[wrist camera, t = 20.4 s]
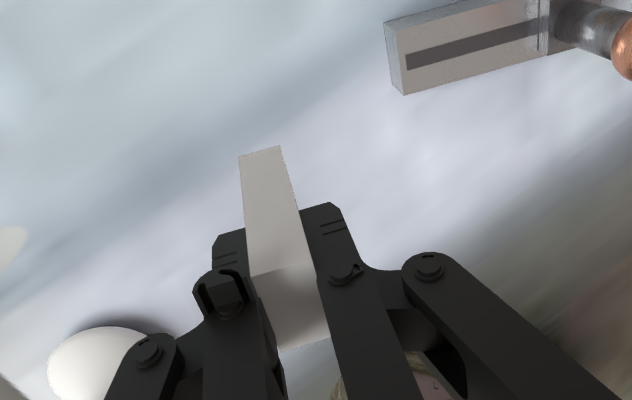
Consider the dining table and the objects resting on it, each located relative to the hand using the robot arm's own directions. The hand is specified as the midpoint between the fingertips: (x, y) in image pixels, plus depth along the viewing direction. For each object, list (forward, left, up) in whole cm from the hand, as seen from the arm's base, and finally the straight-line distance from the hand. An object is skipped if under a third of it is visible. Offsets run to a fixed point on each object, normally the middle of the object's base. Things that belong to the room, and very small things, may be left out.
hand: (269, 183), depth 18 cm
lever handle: (+4, +24, -19) cm, 31 cm away
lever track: (+4, +19, -22) cm, 30 cm away
